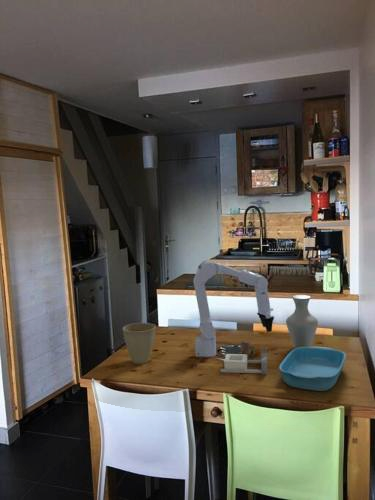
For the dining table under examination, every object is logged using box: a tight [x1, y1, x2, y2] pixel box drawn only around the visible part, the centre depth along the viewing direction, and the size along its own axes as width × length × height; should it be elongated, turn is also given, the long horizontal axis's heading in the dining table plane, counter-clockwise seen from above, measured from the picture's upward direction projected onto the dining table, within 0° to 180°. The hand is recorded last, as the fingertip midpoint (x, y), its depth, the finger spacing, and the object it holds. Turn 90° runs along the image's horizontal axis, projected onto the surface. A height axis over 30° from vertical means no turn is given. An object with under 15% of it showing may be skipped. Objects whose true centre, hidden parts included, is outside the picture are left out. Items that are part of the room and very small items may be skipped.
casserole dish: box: [279, 345, 347, 392], centre depth 173 cm, size 37×22×7 cm, turn 153°
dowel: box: [240, 340, 251, 357], centre depth 198 cm, size 4×4×7 cm
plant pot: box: [122, 322, 157, 365], centre depth 199 cm, size 15×15×16 cm
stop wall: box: [260, 348, 268, 376], centre depth 182 cm, size 2×15×6 cm, turn 169°
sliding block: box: [223, 353, 249, 369], centre depth 184 cm, size 9×9×4 cm
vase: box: [285, 294, 319, 349], centre depth 205 cm, size 14×14×25 cm
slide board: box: [220, 358, 262, 374], centre depth 184 cm, size 20×16×2 cm
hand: (267, 329), depth 204 cm, fingers open, 7 cm apart
